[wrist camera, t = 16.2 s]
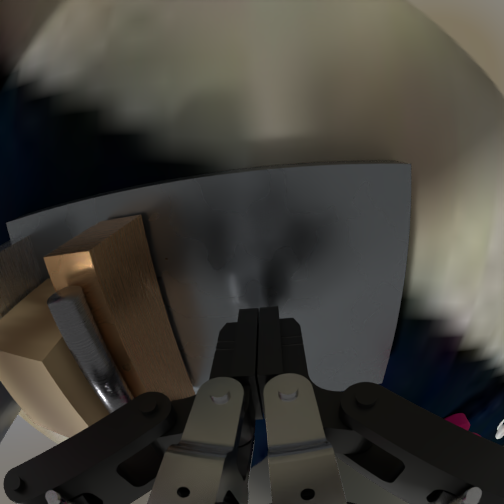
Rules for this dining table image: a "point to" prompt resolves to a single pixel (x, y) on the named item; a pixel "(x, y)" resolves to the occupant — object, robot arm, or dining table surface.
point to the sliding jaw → (115, 314)
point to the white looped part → (500, 430)
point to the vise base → (255, 256)
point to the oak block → (45, 368)
